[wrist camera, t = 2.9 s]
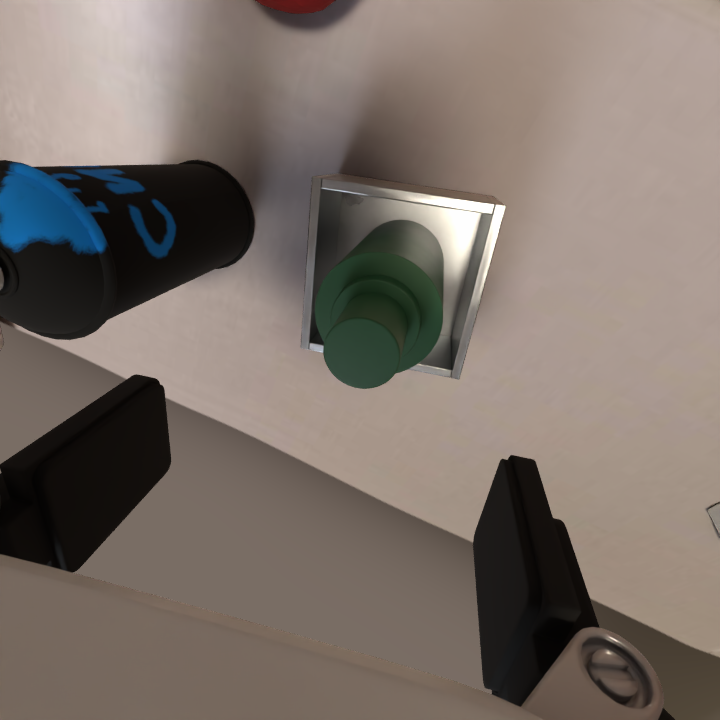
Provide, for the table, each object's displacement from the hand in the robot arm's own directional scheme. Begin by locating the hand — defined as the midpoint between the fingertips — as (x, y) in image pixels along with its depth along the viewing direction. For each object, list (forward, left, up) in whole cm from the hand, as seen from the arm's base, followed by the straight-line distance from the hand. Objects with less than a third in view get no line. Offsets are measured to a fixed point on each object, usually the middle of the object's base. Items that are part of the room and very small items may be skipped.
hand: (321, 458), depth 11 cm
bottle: (0, 0, -23) cm, 23 cm away
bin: (0, 0, -23) cm, 23 cm away
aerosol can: (-16, +1, -24) cm, 29 cm away
